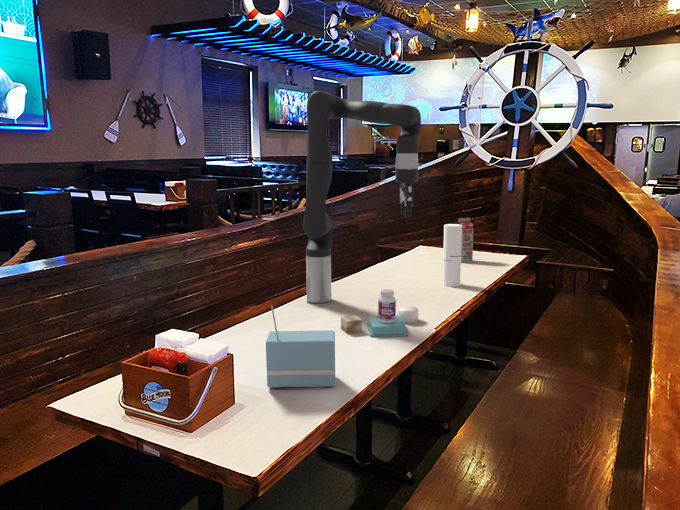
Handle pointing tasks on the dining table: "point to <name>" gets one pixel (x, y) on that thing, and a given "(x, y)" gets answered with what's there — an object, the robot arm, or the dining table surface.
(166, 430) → the dining table surface
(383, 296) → the pill bottle
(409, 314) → the white rounded puck
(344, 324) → the tan square block
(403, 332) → the podium
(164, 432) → the dining table surface
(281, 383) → the radio
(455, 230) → the cylindrical container
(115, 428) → the dining table surface
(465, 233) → the juice carton
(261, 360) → the dining table surface
